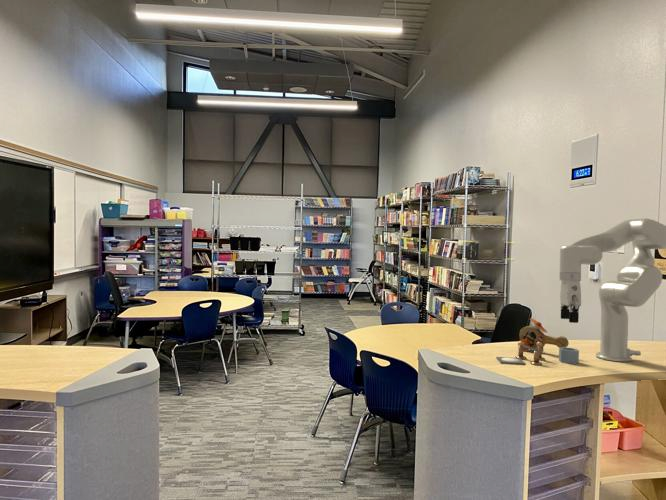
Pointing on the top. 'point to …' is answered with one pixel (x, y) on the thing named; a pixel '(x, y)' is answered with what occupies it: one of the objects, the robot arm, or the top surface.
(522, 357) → the brown legged frame
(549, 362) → the top surface
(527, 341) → the toy helicopter
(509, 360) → the pad
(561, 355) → the blue-grey block
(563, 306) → the robot arm
